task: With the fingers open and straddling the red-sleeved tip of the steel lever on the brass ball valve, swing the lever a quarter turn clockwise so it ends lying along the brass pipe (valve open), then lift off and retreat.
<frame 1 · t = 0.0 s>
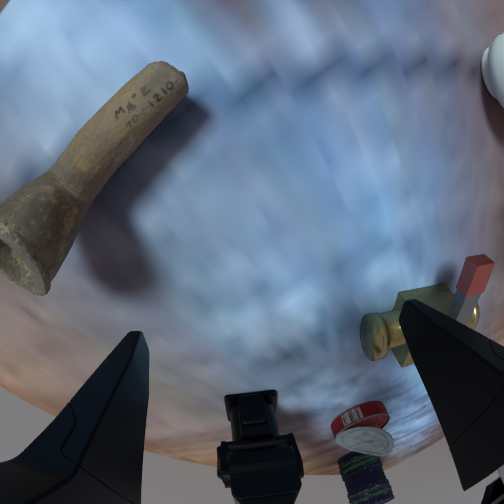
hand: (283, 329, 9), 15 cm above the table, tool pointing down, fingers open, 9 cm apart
valve: (414, 311, 32), on the table
canned food: (356, 415, 43), on the table
storage jar: (356, 454, 55), on the table
lever: (458, 317, 24), point 7 cm above the table, hinge at 0.0°
flower vase: (491, 68, 18), on the table
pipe: (104, 155, 20), on the table
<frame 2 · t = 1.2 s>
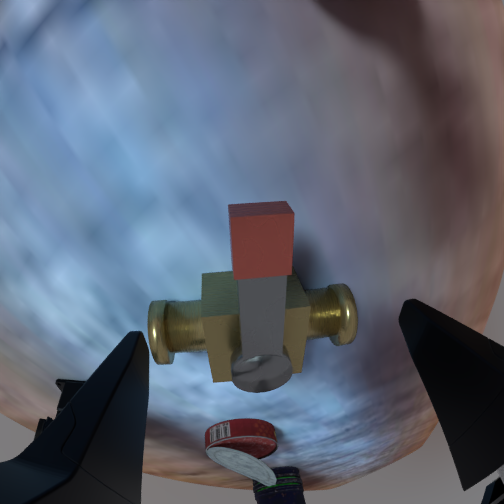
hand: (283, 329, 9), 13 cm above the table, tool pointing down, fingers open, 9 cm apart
valve: (249, 305, 25), on the table
canned food: (239, 432, 37), on the table
storage jar: (275, 473, 48), on the table
lever: (260, 317, 17), point 7 cm above the table, hinge at 0.0°
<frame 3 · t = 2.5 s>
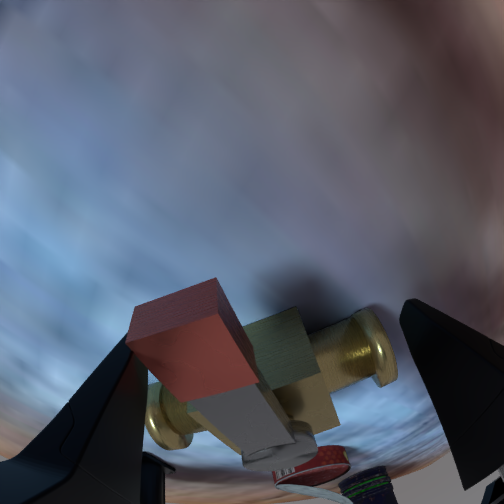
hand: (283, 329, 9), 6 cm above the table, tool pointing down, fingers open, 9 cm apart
valve: (260, 360, 19), on the table
canned food: (308, 458, 32), on the table
storage jar: (361, 475, 42), on the table
lever: (250, 415, 11), point 7 cm above the table, hinge at 1.7°, touching gripper
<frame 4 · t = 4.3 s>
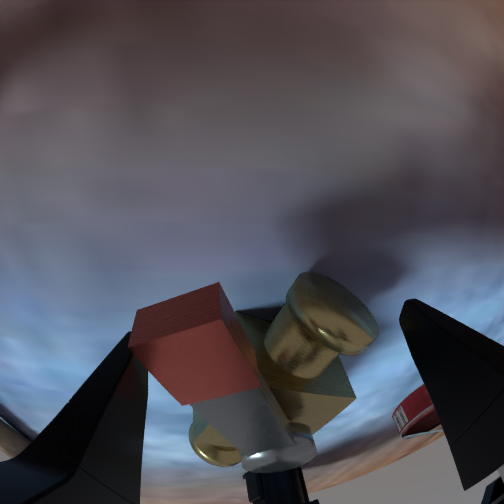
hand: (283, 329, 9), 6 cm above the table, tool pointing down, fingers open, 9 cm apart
valve: (260, 362, 19), on the table
canned food: (426, 395, 28), on the table
lever: (250, 418, 11), point 7 cm above the table, hinge at 43.8°, touching gripper
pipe: (23, 433, 24), on the table
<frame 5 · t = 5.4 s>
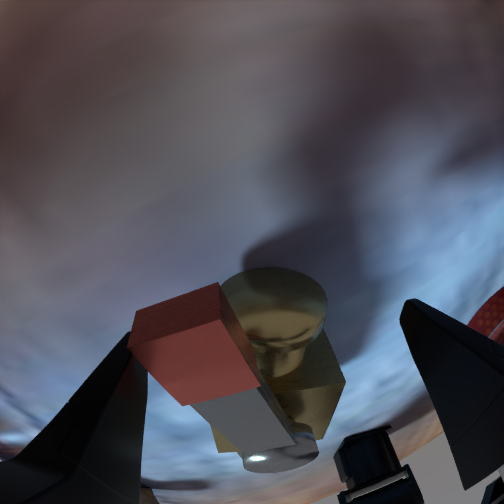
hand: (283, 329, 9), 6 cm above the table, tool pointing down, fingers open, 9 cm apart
valve: (261, 362, 19), on the table
canned food: (488, 322, 23), on the table
lever: (251, 418, 11), point 7 cm above the table, hinge at 71.2°, touching gripper
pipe: (126, 479, 32), on the table
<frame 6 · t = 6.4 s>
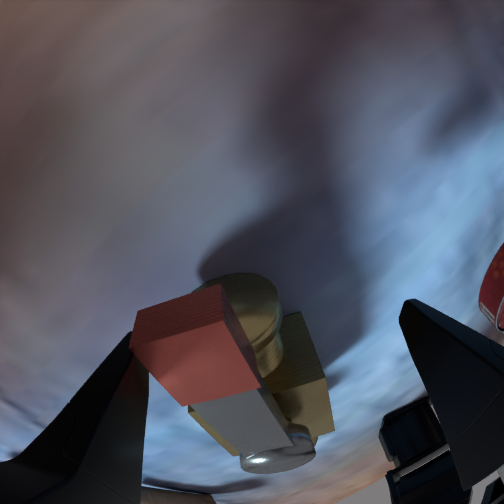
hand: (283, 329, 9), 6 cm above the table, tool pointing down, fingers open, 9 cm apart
valve: (259, 363, 19), on the table
lever: (249, 419, 11), point 7 cm above the table, hinge at 87.9°, touching gripper
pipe: (185, 489, 35), on the table
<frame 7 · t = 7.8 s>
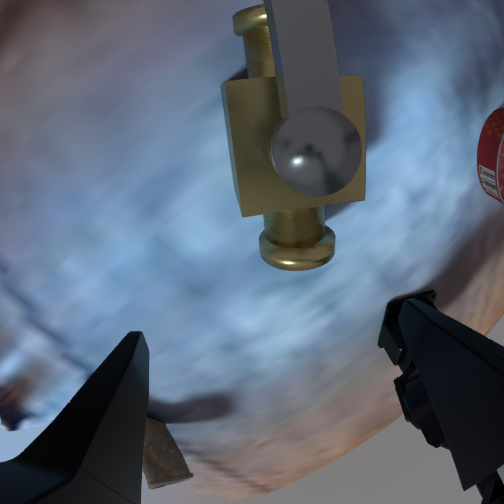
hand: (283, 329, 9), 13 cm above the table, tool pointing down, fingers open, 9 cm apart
valve: (281, 131, 18), on the table
canned food: (501, 153, 21), on the table
lever: (303, 52, 10), point 7 cm above the table, hinge at 88.1°
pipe: (134, 409, 32), on the table
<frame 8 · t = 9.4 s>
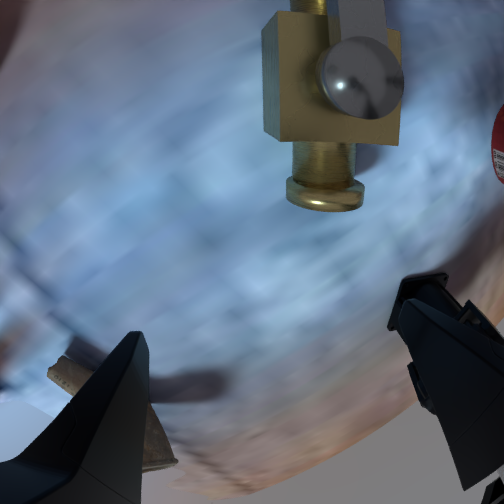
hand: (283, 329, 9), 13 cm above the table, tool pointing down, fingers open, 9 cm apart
valve: (315, 81, 17), on the table
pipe: (118, 383, 29), on the table
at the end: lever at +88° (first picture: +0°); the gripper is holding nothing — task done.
